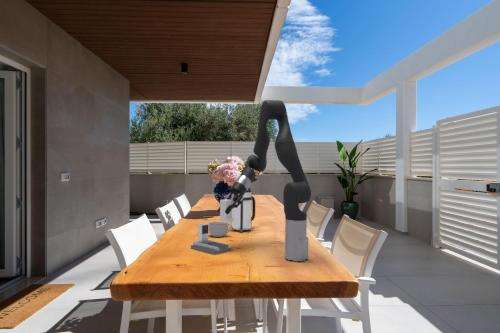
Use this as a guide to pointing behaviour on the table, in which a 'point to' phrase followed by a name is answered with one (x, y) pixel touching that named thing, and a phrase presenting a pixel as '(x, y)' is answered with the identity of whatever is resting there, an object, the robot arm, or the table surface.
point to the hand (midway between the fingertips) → (222, 212)
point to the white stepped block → (223, 207)
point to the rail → (208, 242)
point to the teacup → (219, 228)
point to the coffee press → (244, 213)
